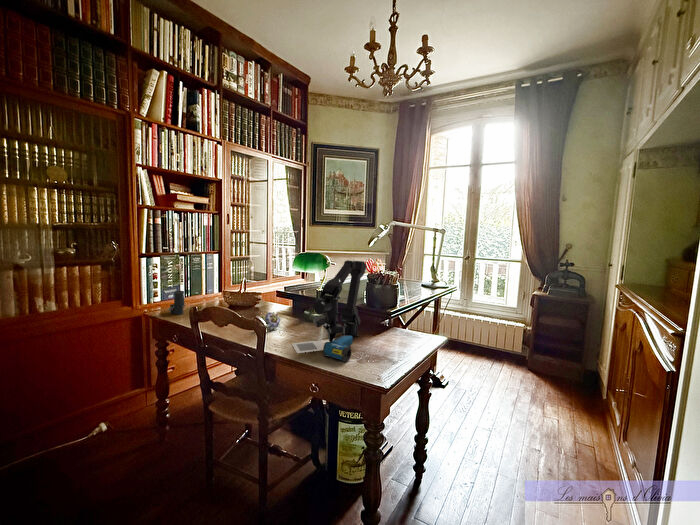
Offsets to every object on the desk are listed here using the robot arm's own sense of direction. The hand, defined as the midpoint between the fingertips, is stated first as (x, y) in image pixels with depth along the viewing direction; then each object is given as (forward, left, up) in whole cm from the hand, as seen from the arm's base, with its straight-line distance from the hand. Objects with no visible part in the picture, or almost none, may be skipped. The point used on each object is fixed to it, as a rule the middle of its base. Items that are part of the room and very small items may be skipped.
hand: (330, 341), depth 150 cm
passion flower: (+23, -33, -2) cm, 40 cm away
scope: (+71, -76, -2) cm, 104 cm away
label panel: (+5, -2, -2) cm, 6 cm away
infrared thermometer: (-3, +9, -2) cm, 10 cm away
